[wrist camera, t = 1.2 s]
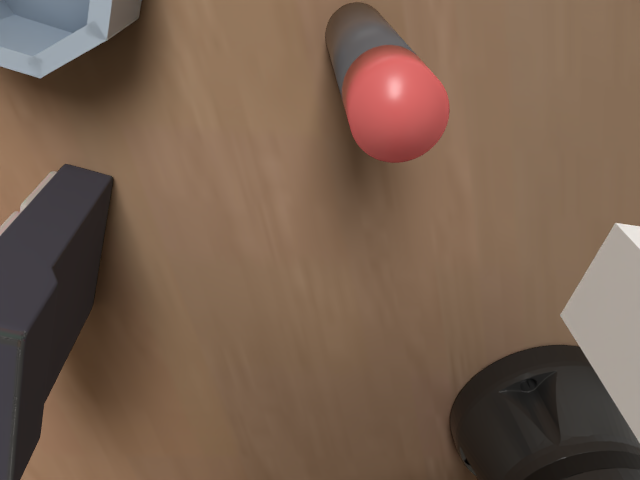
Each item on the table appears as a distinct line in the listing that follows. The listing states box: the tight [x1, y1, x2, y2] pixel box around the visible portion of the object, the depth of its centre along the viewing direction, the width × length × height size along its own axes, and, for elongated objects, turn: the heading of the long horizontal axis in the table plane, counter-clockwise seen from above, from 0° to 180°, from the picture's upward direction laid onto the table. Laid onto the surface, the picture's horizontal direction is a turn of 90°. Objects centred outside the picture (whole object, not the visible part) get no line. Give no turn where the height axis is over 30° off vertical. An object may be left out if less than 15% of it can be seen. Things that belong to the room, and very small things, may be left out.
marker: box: [325, 3, 449, 163], centre depth 24 cm, size 3×3×14 cm
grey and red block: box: [0, 164, 113, 480], centre depth 30 cm, size 11×4×15 cm, turn 161°
